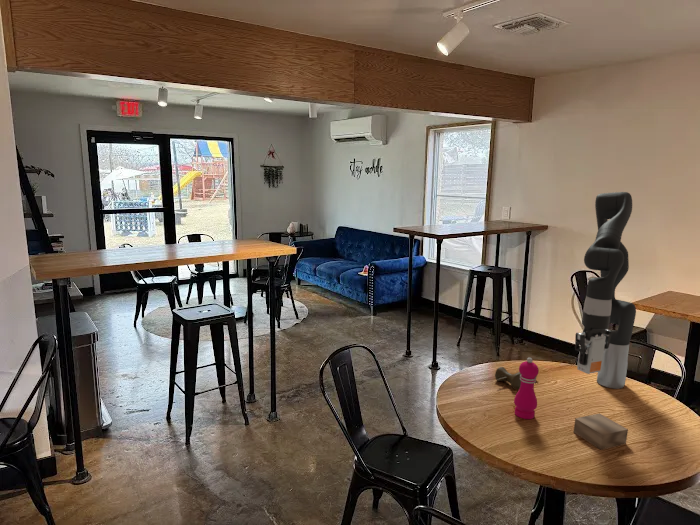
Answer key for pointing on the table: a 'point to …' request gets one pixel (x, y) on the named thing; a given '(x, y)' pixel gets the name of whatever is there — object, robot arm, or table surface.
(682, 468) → the table surface
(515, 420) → the table surface
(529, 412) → the pepper mill
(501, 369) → the kendama
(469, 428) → the table surface
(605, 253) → the robot arm
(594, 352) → the skincare box
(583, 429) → the walnut block
